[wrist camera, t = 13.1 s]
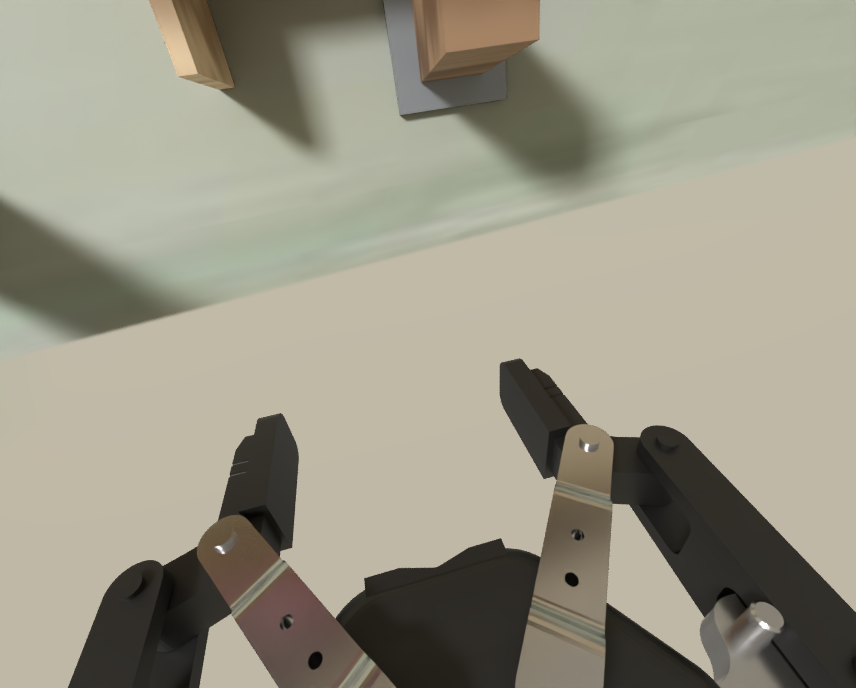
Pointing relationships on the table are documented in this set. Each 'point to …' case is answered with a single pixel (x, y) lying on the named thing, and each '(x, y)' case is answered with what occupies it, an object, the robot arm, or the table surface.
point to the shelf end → (193, 41)
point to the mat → (432, 93)
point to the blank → (471, 34)
